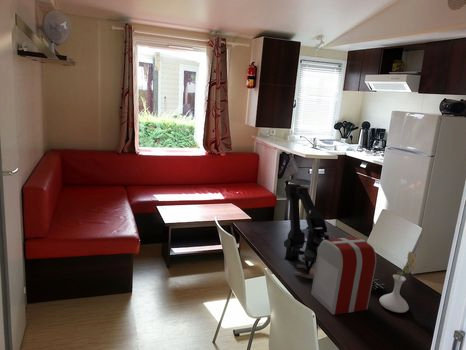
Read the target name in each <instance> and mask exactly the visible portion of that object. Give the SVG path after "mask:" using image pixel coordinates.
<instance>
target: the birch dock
mask: <svg viewBox="0 0 466 350" xmlns="http://www.w3.org/2000/svg"><path fill="white" fill-rule="evenodd" d="M296 268H297V269H298V268H300V269H302V270H307V267H306V264H305V265H304V264H301V263H300V264H299V263H297V264H296ZM311 268H313V269H315V267H313V266H312V267H311ZM293 276H297V277H302V278H305V279H310V280H313V279H314V276H313V275H309V273H304V272H301V271H300V272H299V271H294V274H293Z"/></svg>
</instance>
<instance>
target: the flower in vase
mask: <svg viewBox="0 0 466 350" xmlns="http://www.w3.org/2000/svg"><path fill="white" fill-rule="evenodd" d="M408 251H409V250H408ZM406 259H407V262H406V264H405V265H404V266H403V268H402V270H401V271H400V270H398V271H397V272H396V273H397V274H393V275H392V277H393V280H394V285H393V286H394V287H393V291H392V292H390V293H386V294H383V295H382V296H380V298H379V303H380V305H381V306H382V307H384V308H385V309H387V310H389V311H391V312H394V313H399V314H401V313H402V314H403V313H406V312H407V311H409V309H410V308H409V307H410V306H409V305H408V303H407V301H406V299H404V298H403V296H401V294H400V291H401V287H402V284H403V283H404V282H405V281H406V280H407V278H406V277H405V276H403V275H404V273H405V274H408V273H409V272H410V271H414V272H416V271H417V270H418V262H419V261H417V257H416V255H414V252H413V251H409V252H408V253H407V257H406ZM407 265H408V266H409V268H410V270H409V268H408V267H407ZM403 272H404V273H403Z"/></svg>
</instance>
